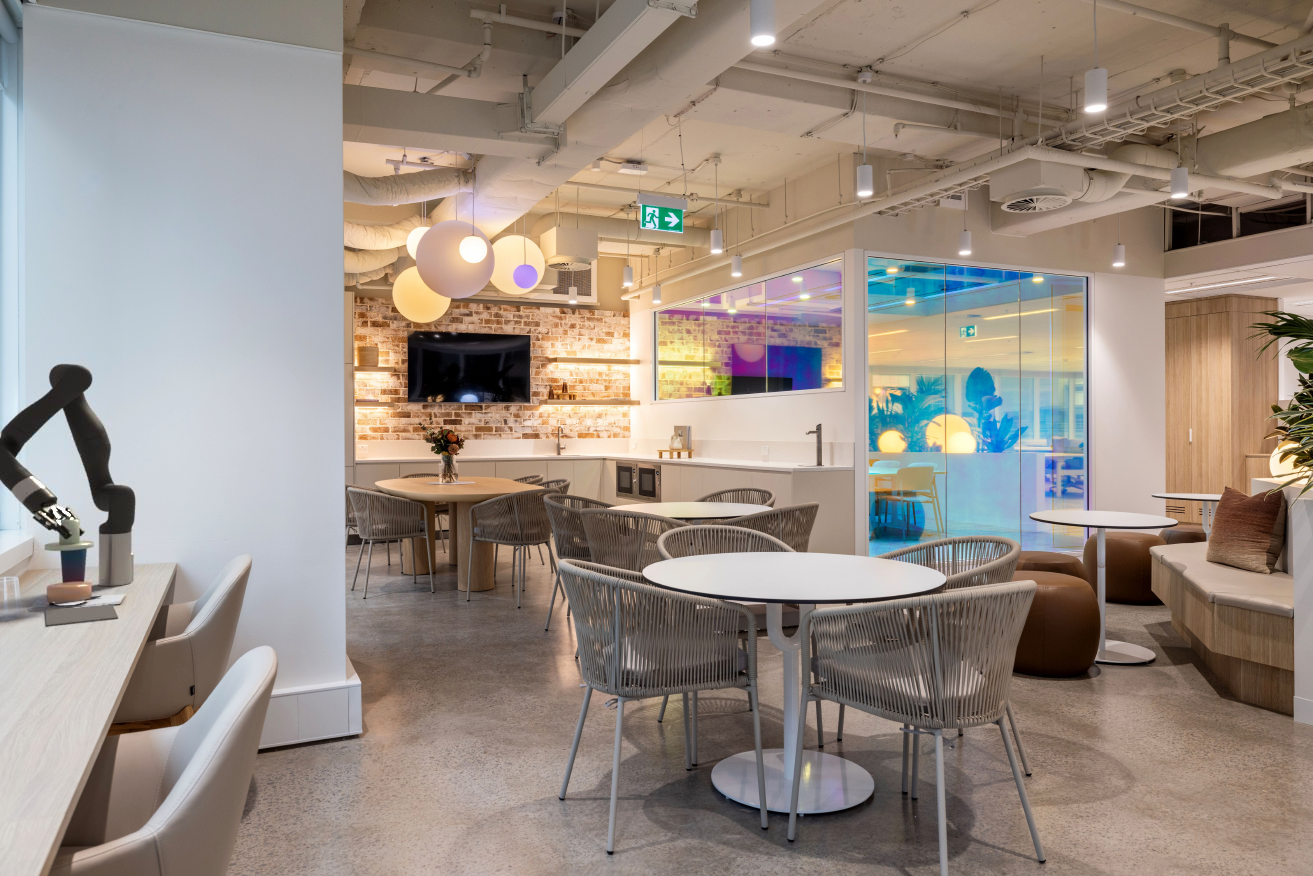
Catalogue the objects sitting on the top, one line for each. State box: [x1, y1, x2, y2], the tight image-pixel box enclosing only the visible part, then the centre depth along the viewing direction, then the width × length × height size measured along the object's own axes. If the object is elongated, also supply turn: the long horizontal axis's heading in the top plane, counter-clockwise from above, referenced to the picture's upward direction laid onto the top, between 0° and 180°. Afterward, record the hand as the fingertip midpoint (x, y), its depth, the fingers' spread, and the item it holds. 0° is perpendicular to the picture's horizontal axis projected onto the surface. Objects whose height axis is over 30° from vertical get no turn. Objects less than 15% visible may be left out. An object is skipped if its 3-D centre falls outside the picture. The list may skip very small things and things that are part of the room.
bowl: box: [46, 581, 93, 603], centre depth 249 cm, size 11×11×6 cm
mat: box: [45, 603, 119, 627], centre depth 235 cm, size 22×16×1 cm
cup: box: [59, 548, 88, 583], centre depth 259 cm, size 7×7×15 cm
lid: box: [44, 518, 95, 552], centre depth 248 cm, size 12×12×8 cm
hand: (75, 535), depth 249 cm, fingers closed on lid, 5 cm apart
